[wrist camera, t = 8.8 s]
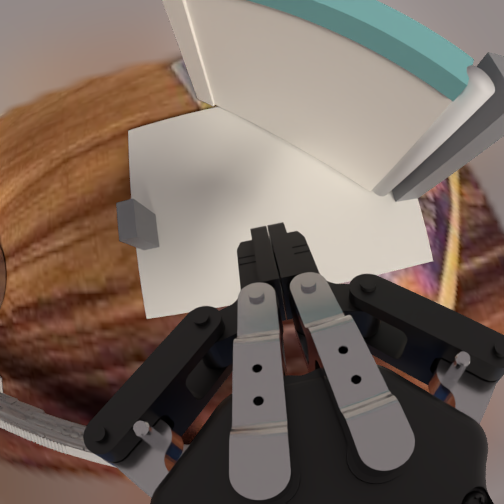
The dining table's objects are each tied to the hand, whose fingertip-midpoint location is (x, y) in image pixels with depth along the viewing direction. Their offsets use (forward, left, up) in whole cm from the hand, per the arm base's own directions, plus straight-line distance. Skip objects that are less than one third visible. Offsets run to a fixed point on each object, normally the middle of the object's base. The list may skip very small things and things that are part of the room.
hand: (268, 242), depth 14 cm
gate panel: (+4, +9, -7) cm, 11 cm away
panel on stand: (+1, +5, -8) cm, 9 cm away
